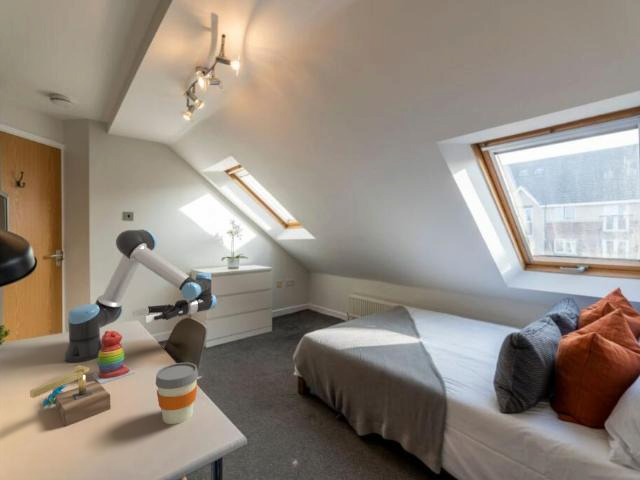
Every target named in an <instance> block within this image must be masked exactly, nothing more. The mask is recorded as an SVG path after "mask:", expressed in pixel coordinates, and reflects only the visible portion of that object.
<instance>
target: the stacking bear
mask: <svg viewBox="0 0 640 480" xmlns="http://www.w3.org/2000/svg"><path fill="white" fill-rule="evenodd" d="M122 339H123V335H121V333H119V332H118V331H116V330H105V331H104V334H103V335H102V336H101V341H102V344H103V346H102V347H101V349H100V351H99V354H98V357H97V358H96V360H97V367H98V370H99V371H98V372H99V375H98V376H99V377H100V378H112V377H117V376H120V375H123V374H126V373H128V372H129V371H130V370H131V368H129V367H128V366H126V365H125V366H126V367H125V366H123V364H124V362H125V351H124V348H123V346H122V344H121V342H122Z"/></svg>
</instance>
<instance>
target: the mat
mask: <svg viewBox="0 0 640 480" xmlns="http://www.w3.org/2000/svg"><path fill="white" fill-rule="evenodd" d="M123 366H125V367H127V366H126V365H125V364H124V363H123ZM99 372H100V371H96V372H94V373H91V374H90V375H91V376H92V378H93V379H95V380H96V382H98V383H99V384H100V385H103V384H106V383H109V382H111V381H115V380H119V379H122V378H124V377H127V376H130V375H132V374H135V372H134V371H133V370H132V369H130V371H129V372H128V373H126V374H123V375H120V376H117V377H112V378H100V377H99V376H98V375H99Z"/></svg>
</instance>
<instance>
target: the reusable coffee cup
mask: <svg viewBox="0 0 640 480" xmlns="http://www.w3.org/2000/svg"><path fill="white" fill-rule="evenodd" d="M198 377H199V373H198V366H197V365H196V364H194V363H191V362H178V363H172V364H169V365H167V366H165V367H164V366H163V367H162V368H160V369H159V370H158V371H157V373H156V377H155V386H156V387H157V390H156V395H157V401H158V406H159V408H160V410H161V415H162V421H163V423H165V424H167V425H177V424H181V423H183V422H186V421H187V420H189V419H190V418H191V417H192V416H193V413H194V404H195V401H196V399H197V391H198V382H197V380H198Z"/></svg>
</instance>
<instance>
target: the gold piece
mask: <svg viewBox="0 0 640 480" xmlns="http://www.w3.org/2000/svg"><path fill="white" fill-rule="evenodd" d="M89 371H90V367H88V366H85V365H80V364H79V365H77V366H74V372H71V373H69V374H67V375H64V376H61V377H60V378H56V379H55V380H52V381H50V382H47V383H45V384H42V385H39V386H37V387H34V388H32V389H29V396H30V398H33V399H34V398H35V399H36V398H37V397H39V396H42V395H44V394H46V393H49V392H50V391H53V390H54V389H56V388H58V387H60V386H63V385H65V384H66V385H67V384H70V383H71V382H74V381H76V380H78V381H77V382H78V383H77V384H78V387H79V395H82V394H85V393H86V385H87V376H86V375H87V374H86V372H89Z"/></svg>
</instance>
